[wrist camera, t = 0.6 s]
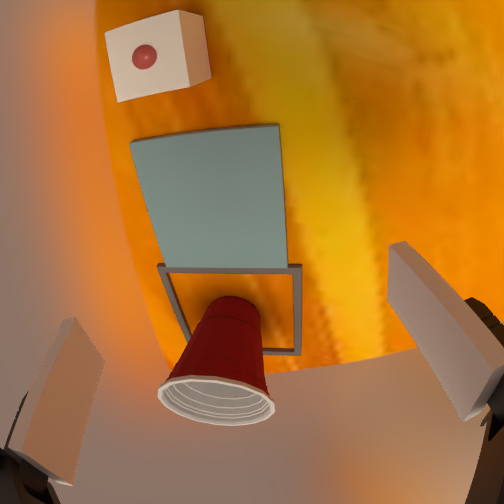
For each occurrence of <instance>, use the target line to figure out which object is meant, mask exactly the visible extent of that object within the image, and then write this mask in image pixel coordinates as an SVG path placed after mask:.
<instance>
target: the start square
mask: <svg viewBox="0 0 504 504" xmlns="http://www.w3.org/2000/svg"><path fill="white" fill-rule="evenodd" d="M157 269H158V272H159V274H160V277H161V280H162V282H163V285H164V287H165V290H166V293H167V295H168V298H169V300H170V303H171V305H172V308H173V310H174V312H175V315H176V317H177V320H178V322H179V325H180V327H181V329H182V332H183V334H184V336H185V339H186V341H187V343H188V342H189V340H190V338H191V336H192V334H191V332H190V329H189V327H188V324H187V322H186V319H185V316H184V314H183V311H182V309H181V306H180V303H179V301H178V298H177V295H176V293H175V290H174V287H173V284H172V282H171V279H170V276H169V273H211V274H293V285H294V349H276V348H262V351H263V355H288V356H301V322H302V264H288V267H287V268H190V267H166V265H165V264H158V265H157Z"/></svg>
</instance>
